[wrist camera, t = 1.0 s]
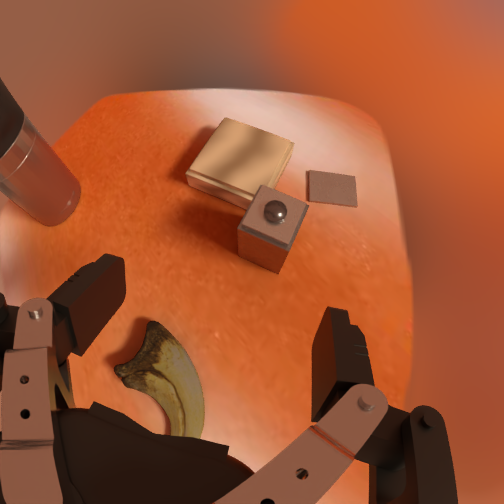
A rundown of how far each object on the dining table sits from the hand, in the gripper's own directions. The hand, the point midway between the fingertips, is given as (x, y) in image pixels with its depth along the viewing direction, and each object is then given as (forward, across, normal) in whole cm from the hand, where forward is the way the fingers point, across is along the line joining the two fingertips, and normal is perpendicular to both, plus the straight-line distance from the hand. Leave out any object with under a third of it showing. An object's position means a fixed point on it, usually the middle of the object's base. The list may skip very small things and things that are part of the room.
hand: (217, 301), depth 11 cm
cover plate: (+34, -9, +2) cm, 35 cm away
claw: (+10, +7, +26) cm, 29 cm away
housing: (+26, -1, +10) cm, 28 cm away
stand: (+33, +5, +2) cm, 34 cm away
